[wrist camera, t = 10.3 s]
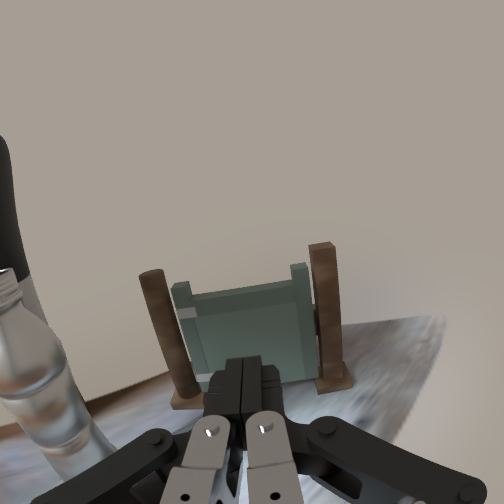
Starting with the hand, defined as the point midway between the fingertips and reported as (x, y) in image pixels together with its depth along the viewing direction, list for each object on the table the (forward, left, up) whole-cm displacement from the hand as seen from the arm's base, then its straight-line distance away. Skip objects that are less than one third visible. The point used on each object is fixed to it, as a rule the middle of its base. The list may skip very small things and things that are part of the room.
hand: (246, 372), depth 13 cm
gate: (-1, +14, -12) cm, 19 cm away
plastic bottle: (-14, 0, -14) cm, 20 cm away
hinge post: (-9, +14, -14) cm, 22 cm away
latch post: (+6, +14, -14) cm, 21 cm away
